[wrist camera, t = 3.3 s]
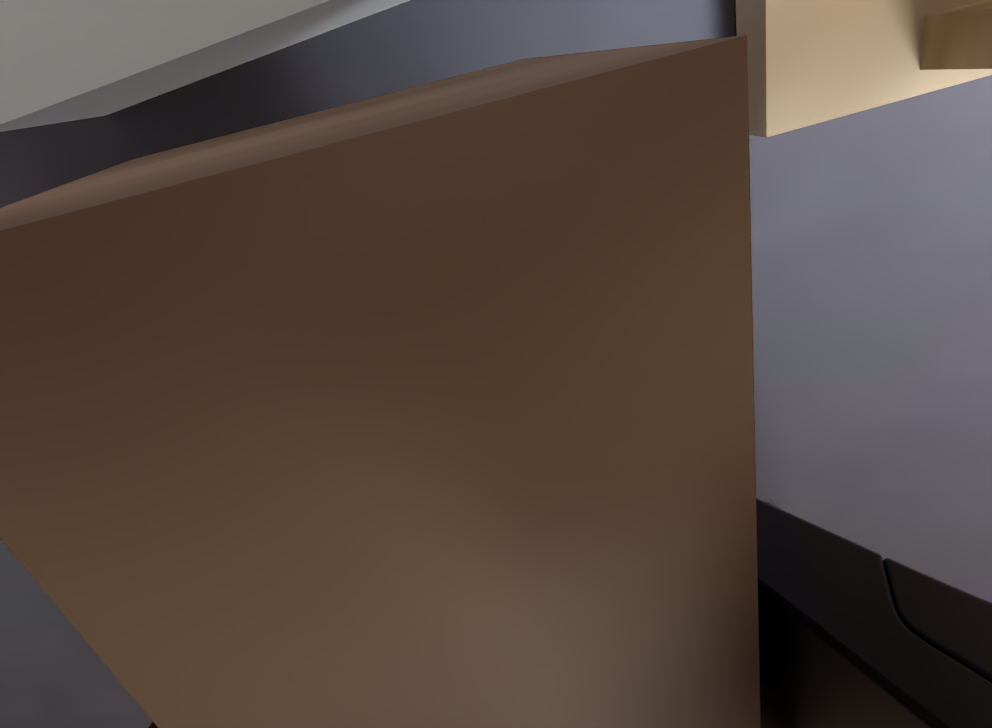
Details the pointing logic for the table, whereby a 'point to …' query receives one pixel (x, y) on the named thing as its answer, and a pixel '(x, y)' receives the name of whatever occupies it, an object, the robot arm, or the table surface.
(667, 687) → the tan rectangular bar
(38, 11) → the light grey rectangular block
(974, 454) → the table surface
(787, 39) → the jig
